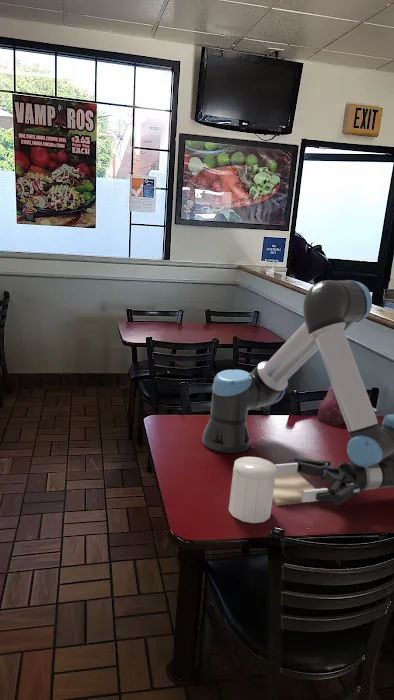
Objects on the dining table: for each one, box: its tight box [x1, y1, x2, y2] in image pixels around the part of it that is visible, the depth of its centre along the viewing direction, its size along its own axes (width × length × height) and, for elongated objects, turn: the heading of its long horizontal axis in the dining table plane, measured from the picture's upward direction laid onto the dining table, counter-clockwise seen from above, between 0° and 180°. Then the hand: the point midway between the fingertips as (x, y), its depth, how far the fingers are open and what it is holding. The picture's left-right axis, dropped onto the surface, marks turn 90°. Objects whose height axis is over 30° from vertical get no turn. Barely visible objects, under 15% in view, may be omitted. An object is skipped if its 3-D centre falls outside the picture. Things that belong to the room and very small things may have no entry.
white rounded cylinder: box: [228, 456, 276, 524], centre depth 120 cm, size 10×10×12 cm
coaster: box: [272, 472, 316, 507], centre depth 134 cm, size 14×14×1 cm
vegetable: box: [316, 384, 345, 426], centre depth 191 cm, size 10×10×15 cm
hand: (288, 482), depth 123 cm, fingers open, 13 cm apart
